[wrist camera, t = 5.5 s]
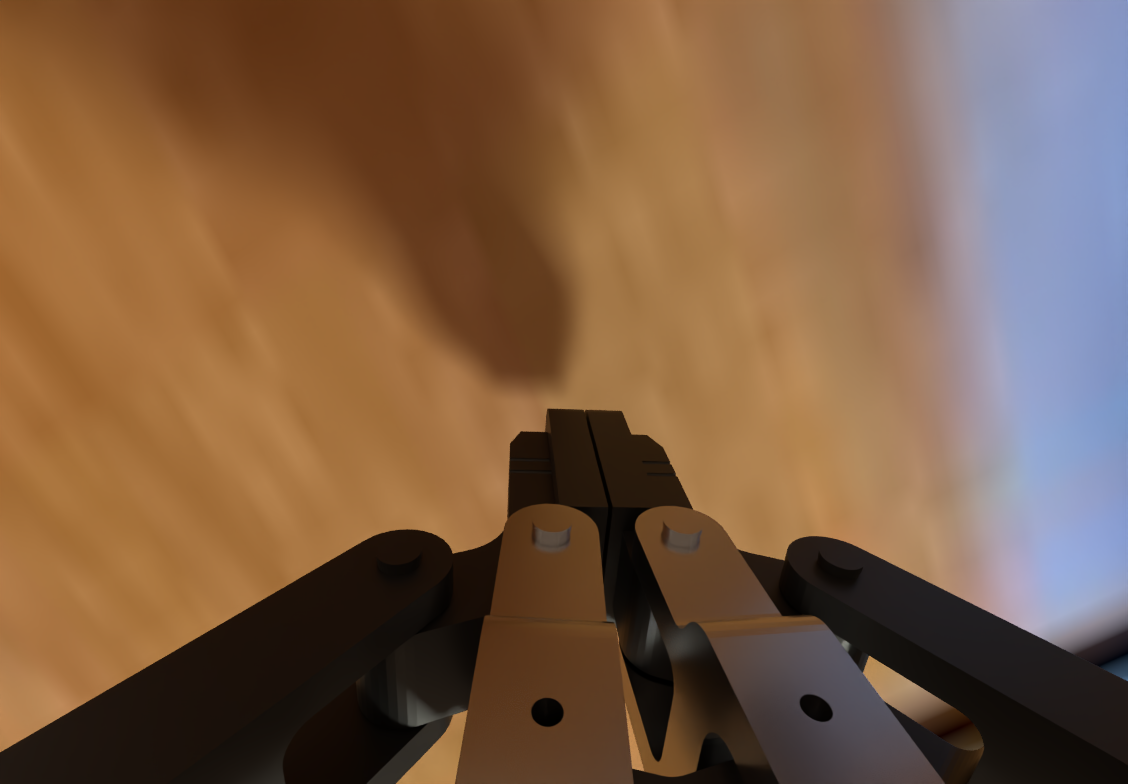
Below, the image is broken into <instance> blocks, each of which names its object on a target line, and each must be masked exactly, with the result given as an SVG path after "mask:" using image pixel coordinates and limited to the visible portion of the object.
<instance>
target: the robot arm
mask: <svg viewBox="0 0 1128 784" xmlns="http://www.w3.org/2000/svg"><path fill="white" fill-rule="evenodd" d="M616 628H617V630H616ZM617 632H618V636H619V644H618V636H617ZM869 656H871V657H873V658H874V659H876V660H877V661H879V662H881V663H882V664H884V665H886V666H887V667H889V668H890V669H892V670H894V671H895V672H897V673H899V674H900V675H902V676H904V677H905V678H907V679H908V680H910V681H912V682H913V683H915V684H917V685H918V686H920V687H921V688H923V689H925V690H926V691H928V692H930V693H931V694H933V695H935V696H936V697H938V698H939V699H941V700H943V701H944V702H946V703H948V704H949V705H951V706H953V707H954V708H956V709H957V710H959V711H960V712H962V713H963V714H964V715H965V716H967V717H968V718H969V719H970V720H971V721H972V722H973V723H974V725H975V726H976V727H977V729H978V730H979V732H980V734H981V736H982V739H983V743H984V746H983V747H982V748H981V749H978V750H973V751H970V750H963V749H960V748H957V747H955V746H952V745H951V744H949V743H947V742H946V741H944V740H943V739H941V738H940V737H938V736H937V735H935V734H933V733H932V732H930V731H929V730H927V729H926V728H924V727H923V726H921V725H920V724H918V723H917V722H915V721H914V720H912V719H911V718H909V717H907V716H906V715H904V714H903V713H901V712H900V711H898V710H897V709H895V708H894V707H892V706H891V705H889V704H888V703H886V702H884V701H883V700H882V698H881V697H880V696H879V694H878V693H877V692H876V690H875V689H874V688H873V686H872V685H871V684H870V682H869V681H868V680H867V678H866V677H865V676H864V674H863V671H864V668H865V665H866V662H867V660H868V657H869ZM625 703H626V707H627V710H628V714H629V718H630V721H631V725H632V728H633V732H634V735H635V739H636V743H637V746H638V750H639V753H640V757H641V760H642V764H643V767H644V771H645V772H644V771H640V770H635V769H632V764H631V754H630V745H629V736H628V727H627V718H626V709H625ZM466 710H468V712H467V717H466V723H465V729H464V735H463V741H462V746H461V752H460V758H459V764H458V769H457V775H456V781H455V784H1128V681H1126V680H1124V679H1122V678H1120V677H1118V676H1116V675H1114V674H1112V673H1110V672H1108V671H1106V670H1104V669H1102V668H1100V667H1098V666H1096V665H1094V664H1092V663H1090V662H1088V661H1086V660H1084V659H1082V658H1080V657H1078V656H1076V655H1074V654H1072V653H1070V652H1068V651H1066V650H1064V649H1062V648H1060V647H1058V646H1056V645H1054V644H1052V643H1050V642H1048V641H1046V640H1044V639H1042V638H1039V637H1037V636H1035V635H1033V634H1031V633H1029V632H1027V631H1025V630H1023V629H1021V628H1019V627H1017V626H1015V625H1013V624H1011V623H1009V622H1007V621H1005V620H1003V619H1001V618H999V617H997V616H995V615H993V614H991V613H989V612H987V611H985V610H983V609H981V608H979V607H977V606H975V605H973V604H971V603H969V602H967V601H965V600H963V599H961V598H959V597H957V596H955V595H953V594H951V593H949V592H947V591H945V590H943V589H941V588H939V587H937V586H935V585H933V584H931V583H929V582H927V581H925V580H923V579H921V578H919V577H917V576H915V575H913V574H911V573H909V572H907V571H905V570H903V569H901V568H899V567H897V566H895V565H893V564H891V563H889V562H887V561H885V560H883V559H881V558H879V557H877V556H875V555H873V554H871V553H869V552H867V551H865V550H863V549H861V548H859V547H856V546H854V545H852V544H849V543H847V542H844V541H841V540H837V539H833V538H828V537H819V536H809V537H803V538H800V539H797V540H795V541H793V542H792V543H791V544H790V545H789V547H788V549H787V553H786V557H785V561H784V560H780V559H775V558H770V557H766V556H761V555H757V554H752V553H748V552H745V551H741V550H738V549H737V548H736V546H735V545H734V543H733V542H732V540H731V539H730V537H729V536H728V534H727V533H726V531H725V530H724V529H723V527H722V526H721V525H720V524H719V523H718V522H716V521H715V520H714V519H712V518H711V517H709V516H707V515H705V514H703V513H701V512H698V511H695V510H693V508H692V506H691V504H690V502H689V500H688V498H687V496H686V494H685V492H684V490H683V488H682V485H681V483H680V481H679V479H678V477H677V476H676V473H675V471H674V469H673V467H672V465H671V464H670V461H669V459H668V457H667V455H666V453H665V451H664V449H663V447H662V446H660V445H659V444H658V443H656V442H655V441H654V440H653V439H651V438H650V437H649V436H647V435H631V433H630V430H629V428H628V425H627V423H626V420H625V418H624V415H623V413H622V411H607V410H585V413H584V410H574V409H547V415H546V428H545V432H523V431H521V432H520V433H519V434H518V435H517V437H516V438H515V439H514V440H513V441H512V442H511V443H510V462H509V487H508V514H507V521H506V523H505V526H504V531H503V532H502V533H501V534H500V535H499V536H498V537H497V538H496V539H494V540H493V541H491V542H490V543H488V544H486V545H484V546H481V547H478V548H475V549H472V550H468V551H463V552H458V553H454V554H453V553H452V550H451V548H450V547H449V545H448V544H447V543H446V542H445V541H444V540H443V539H441V538H440V537H438V536H436V535H434V534H432V533H428V532H425V531H420V530H408V529H406V530H395V531H389V532H385V533H381V534H378V535H375V536H373V537H371V538H369V539H367V540H365V541H363V542H361V543H360V544H358V545H356V546H354V547H353V548H351V549H349V550H348V551H346V552H344V553H342V554H341V555H339V556H337V557H336V558H334V559H332V560H330V561H329V562H327V563H325V564H323V565H322V566H320V567H318V568H317V569H315V570H313V571H311V572H310V573H308V574H306V575H305V576H303V577H301V578H299V579H298V580H296V581H294V582H293V583H291V584H289V585H287V586H286V587H284V588H282V589H281V590H279V591H277V592H275V593H274V594H272V595H270V596H268V597H267V598H265V599H263V600H262V601H260V602H258V603H256V604H255V605H253V606H251V607H250V608H248V609H246V610H244V611H243V612H241V613H239V614H238V615H236V616H234V617H232V618H231V619H229V620H227V621H225V622H224V623H222V624H220V625H219V626H217V627H215V628H213V629H212V630H210V631H208V632H207V633H205V634H203V635H201V636H200V637H198V638H196V639H195V640H193V641H191V642H189V643H188V644H186V645H184V646H183V647H181V648H179V649H177V650H176V651H174V652H172V653H170V654H169V655H167V656H165V657H164V658H162V659H160V660H158V661H157V662H155V663H153V664H152V665H150V666H148V667H146V668H145V669H143V670H141V671H140V672H138V673H136V674H134V675H133V676H131V677H129V678H127V679H126V680H124V681H122V682H121V683H119V684H117V685H115V686H114V687H112V688H110V689H109V690H107V691H105V692H103V693H102V694H100V695H98V696H97V697H95V698H93V699H91V700H90V701H88V702H86V703H84V704H83V705H81V706H79V707H78V708H76V709H74V710H72V711H71V712H69V713H67V714H66V715H64V716H62V717H60V718H59V719H57V720H55V721H54V722H52V723H50V724H48V725H47V726H45V727H43V728H42V729H40V730H38V731H36V732H35V733H33V734H31V735H29V736H28V737H26V738H24V739H23V740H21V741H19V742H17V743H16V744H14V745H12V746H11V747H9V748H7V749H5V750H4V751H2V752H0V784H396V783H397V782H398V781H399V780H400V779H401V778H402V776H403V775H404V774H405V773H406V772H407V771H408V770H409V769H410V768H411V767H412V766H413V765H414V764H415V763H416V762H417V761H418V760H419V759H420V758H421V757H422V756H423V755H424V754H425V753H426V752H427V751H428V750H429V749H430V748H431V747H432V746H433V745H434V744H435V743H436V741H437V740H438V739H439V738H440V737H441V736H442V735H443V734H444V732H445V731H446V730H447V728H448V726H449V724H450V722H451V719H452V716H453V715H454V714H457V713H460V712H463V711H466Z"/></svg>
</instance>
